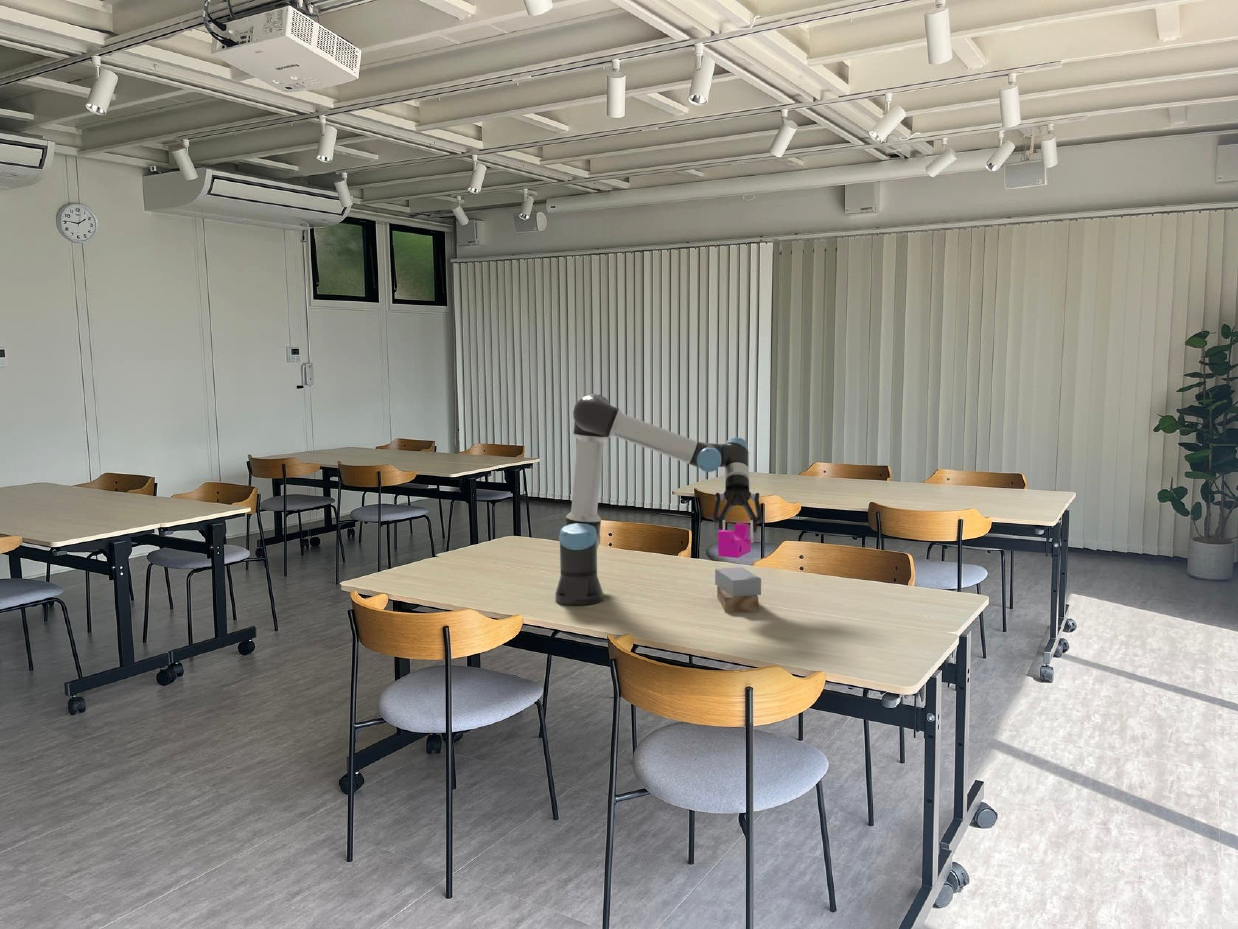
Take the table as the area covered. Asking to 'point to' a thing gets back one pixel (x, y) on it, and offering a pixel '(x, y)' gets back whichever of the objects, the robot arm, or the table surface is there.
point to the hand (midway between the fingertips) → (737, 540)
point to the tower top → (738, 581)
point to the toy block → (734, 541)
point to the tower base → (737, 602)
